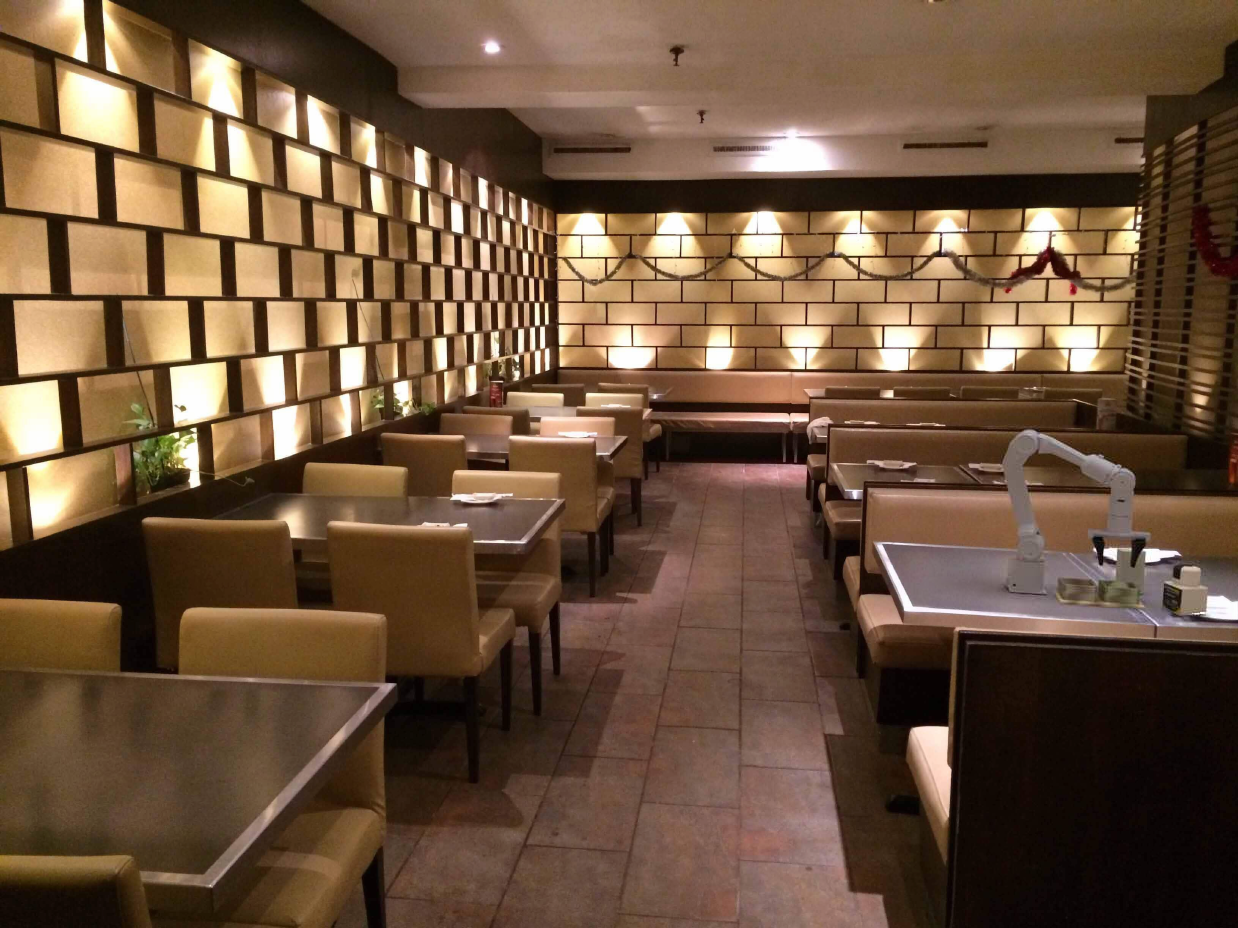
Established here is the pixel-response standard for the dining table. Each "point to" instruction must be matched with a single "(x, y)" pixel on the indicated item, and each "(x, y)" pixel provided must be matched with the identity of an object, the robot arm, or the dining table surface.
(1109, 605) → the sorting board
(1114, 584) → the sage ball
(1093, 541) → the robot arm
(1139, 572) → the skincare box
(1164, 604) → the medicine bottle
